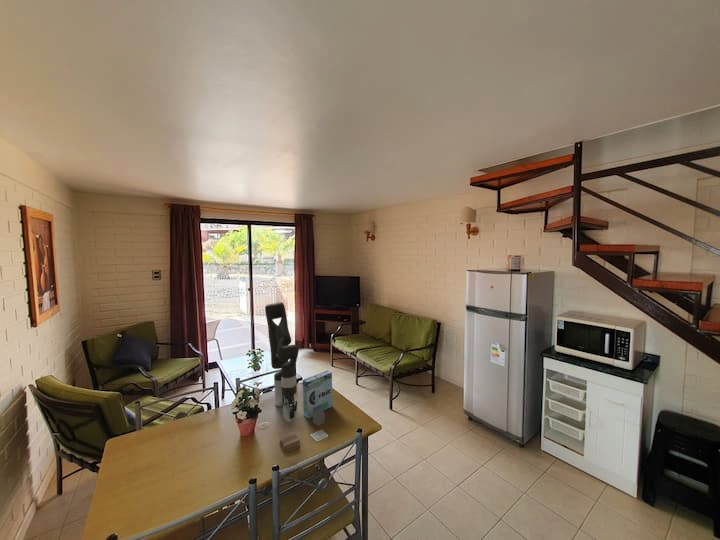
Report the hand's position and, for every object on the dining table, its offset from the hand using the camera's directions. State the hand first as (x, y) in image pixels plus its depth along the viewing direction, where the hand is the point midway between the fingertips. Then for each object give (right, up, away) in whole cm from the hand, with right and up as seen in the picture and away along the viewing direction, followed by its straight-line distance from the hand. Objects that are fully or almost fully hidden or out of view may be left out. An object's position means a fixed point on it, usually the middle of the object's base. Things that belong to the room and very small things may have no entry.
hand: (289, 415), depth 148 cm
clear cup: (0, -1, 0) cm, 1 cm away
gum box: (+10, -14, +33) cm, 37 cm away
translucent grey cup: (+12, -14, +21) cm, 28 cm away
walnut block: (0, -16, +1) cm, 16 cm away
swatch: (+14, -15, +8) cm, 22 cm away
